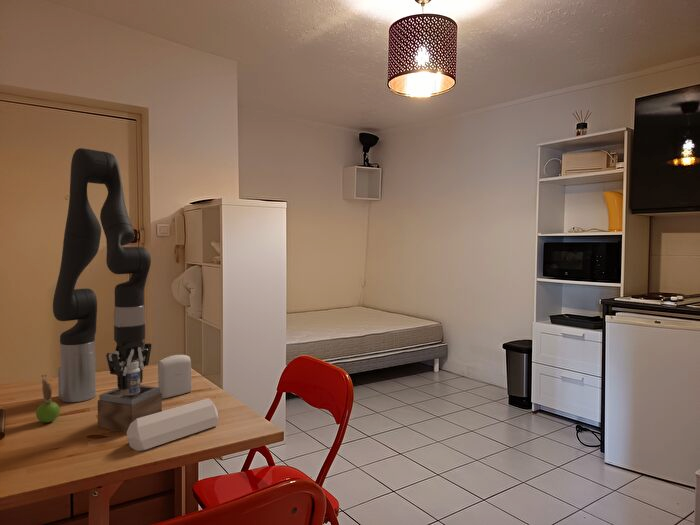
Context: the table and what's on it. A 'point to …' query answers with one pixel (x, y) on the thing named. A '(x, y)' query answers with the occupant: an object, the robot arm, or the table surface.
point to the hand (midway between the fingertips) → (130, 385)
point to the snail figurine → (47, 405)
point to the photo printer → (174, 375)
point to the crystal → (171, 424)
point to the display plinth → (127, 407)
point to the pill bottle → (132, 379)
